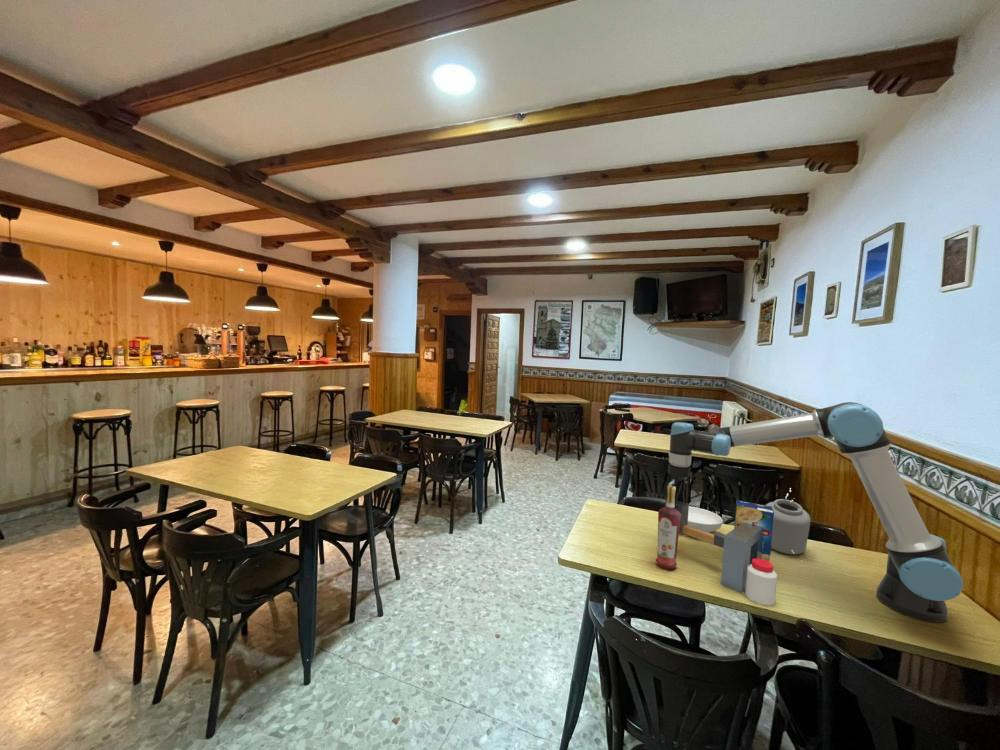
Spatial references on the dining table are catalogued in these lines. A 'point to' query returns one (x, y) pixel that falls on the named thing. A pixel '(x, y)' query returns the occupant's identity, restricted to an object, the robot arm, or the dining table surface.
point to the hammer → (705, 536)
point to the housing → (740, 554)
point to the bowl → (703, 519)
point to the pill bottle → (761, 582)
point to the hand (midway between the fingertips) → (674, 525)
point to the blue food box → (757, 521)
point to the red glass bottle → (668, 531)
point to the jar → (789, 527)
